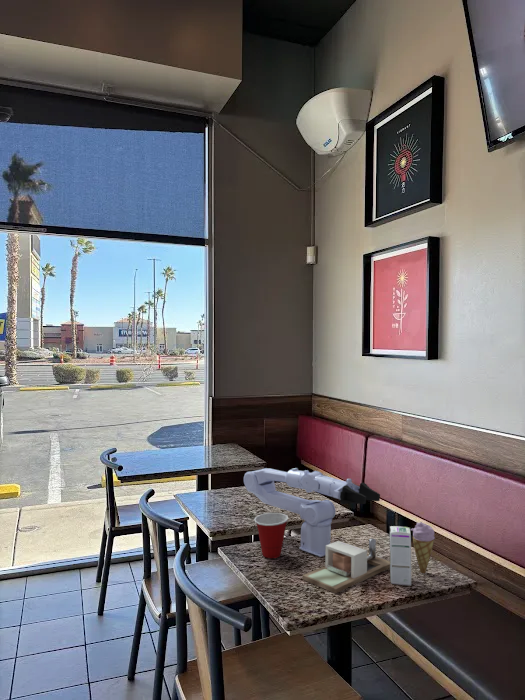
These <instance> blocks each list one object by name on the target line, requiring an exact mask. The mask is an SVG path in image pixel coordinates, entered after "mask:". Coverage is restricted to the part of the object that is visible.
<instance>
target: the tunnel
mask: <svg viewBox="0 0 525 700" xmlns="http://www.w3.org/2000/svg"><path fill="white" fill-rule="evenodd" d="M336 552H338V553H341V554H344V555H347V556H350V557H351V578H356V577H359V576H361V575H363V574H365V573H367V554H368V550H367V549H365V548H362V547H358V546H355V545H353V544H350V543H346V542H343V541H340V540H337V541H334V542H331V544H328V545H326V548H325V558H324V559H325V562H324V563H325V565H324V566H325V568H327V565H333V554H334V553H336Z"/></svg>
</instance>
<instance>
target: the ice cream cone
mask: <svg viewBox="0 0 525 700" xmlns="http://www.w3.org/2000/svg"><path fill="white" fill-rule="evenodd" d="M411 531H412V543H413V548H414V553H415V557H416V561H417V564H418V568H419V572H420V573H421V574H425V573H426V572H427V568H428V565H429V562H430V559H431V555H432V550H433V547H434V541H435V539H436V538H435V531H434V529H433V528H432V526H431V525H428V524H427V523H424V522H422V521H421V522H416V525H414V528H413V527H412V528H410V532H411Z"/></svg>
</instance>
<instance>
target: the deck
mask: <svg viewBox="0 0 525 700" xmlns="http://www.w3.org/2000/svg"><path fill="white" fill-rule="evenodd" d="M367 556H369V553H367ZM388 569H389V570H390V560H387V559H384V558H380V557H378V556H376V558H372V559H370V560H368V561H367V573H365V574H363V575H361V576H359V577H356V578H351V574H350V575H348V576H343V575H341V574H338V573H336V572H333V571H330V570H328V569H327V568H325V565H324V566H322V567H319V568H317V569H314V570H312V571H309V572H307V573H304V574H302V578H301V579H302V580H303V581H305V582H308V583H309V584H310V583H311V585H315V586H317V587H319V588H322V589H324V590H326V591H327V592H328V591H329V592H330V593H333V594H339V593H340V592H343V591H344V590H346V588H347V589H348V587H349V588H350V586H351V587H353V586H355V585H358V584H359V583H362V582H363V581H365V580H367V579H369V578H371V577H373V576H376V575H378V574H380V573H382V572H385V571H386V570H388ZM352 585H353V586H352Z"/></svg>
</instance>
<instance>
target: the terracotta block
mask: <svg viewBox="0 0 525 700" xmlns="http://www.w3.org/2000/svg"><path fill="white" fill-rule="evenodd" d="M333 567H336V568H339V569H341V570H344V571H347V570H350V569H351V557H350V556H347V555H344V554H341V553H338V552H336V553H334V554H333Z"/></svg>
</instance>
